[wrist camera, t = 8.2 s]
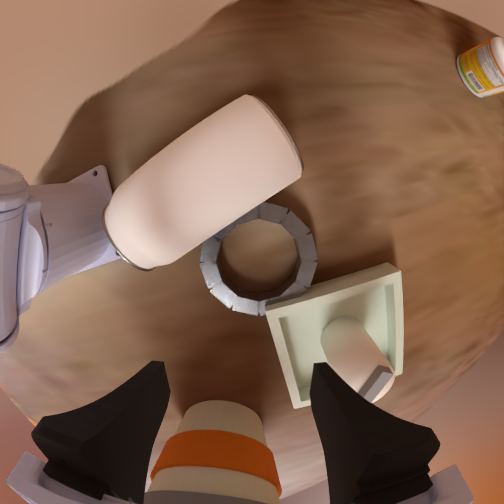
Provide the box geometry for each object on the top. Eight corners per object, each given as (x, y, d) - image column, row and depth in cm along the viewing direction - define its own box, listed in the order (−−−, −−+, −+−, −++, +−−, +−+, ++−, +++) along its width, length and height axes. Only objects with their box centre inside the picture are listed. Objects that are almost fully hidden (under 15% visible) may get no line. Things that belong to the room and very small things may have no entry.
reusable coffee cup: (146, 403, 25) (103, 509, 11) (244, 372, 24) (237, 517, 9) (208, 459, 28) (195, 550, 13) (295, 437, 26) (310, 543, 12)
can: (241, 92, 17) (112, 188, 18) (264, 88, 11) (84, 224, 13) (285, 162, 20) (163, 245, 22) (320, 187, 15) (156, 295, 16)
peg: (348, 358, 23) (376, 415, 15) (312, 348, 22) (332, 409, 15) (370, 323, 22) (409, 375, 14) (334, 310, 22) (367, 365, 14)
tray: (291, 392, 24) (294, 409, 22) (263, 298, 22) (265, 311, 19) (392, 359, 24) (402, 373, 21) (387, 262, 21) (400, 270, 19)
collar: (223, 316, 22) (221, 325, 21) (190, 219, 20) (185, 221, 19) (321, 290, 22) (325, 298, 20) (297, 189, 20) (301, 189, 18)
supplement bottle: (481, 65, 16) (534, 46, 6) (489, 104, 17) (548, 93, 8) (451, 47, 16) (504, 19, 6) (459, 88, 17) (522, 67, 7)
